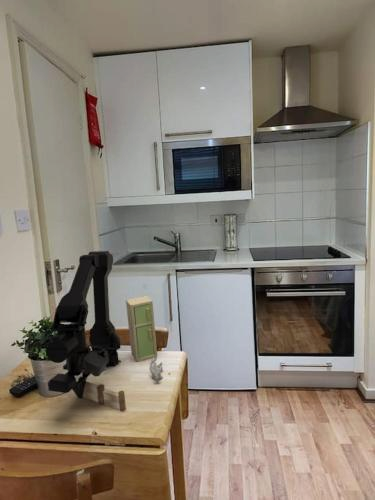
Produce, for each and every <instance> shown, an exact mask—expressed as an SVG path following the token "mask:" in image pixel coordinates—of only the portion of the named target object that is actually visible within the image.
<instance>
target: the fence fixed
mask: <svg viewBox="0 0 375 500" xmlns="http://www.w3.org/2000/svg"><path fill="white" fill-rule="evenodd" d="M98 395H99V402H98V404H99V405H101V406H102V405H104V406H106V407H109V408H113V409H115V410H118V411H120V412H125V411H126V410H127V407H126V398H125V397H126V396H125V391H124V390H119V391H118V392H117V391H114V390H110V389H107V388H105V385H104V384H99V386H98Z"/></svg>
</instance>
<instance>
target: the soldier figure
mask: <svg viewBox="0 0 375 500" xmlns="http://www.w3.org/2000/svg"><path fill="white" fill-rule="evenodd" d="M157 360H158V359H157V357H154V358H150V362H149V371H150V373H151V375H152V376H151V378H152V379H153V380H154V381H156V383H158V382H159V381H160V380H162V379H164V376H162V371H163V366H162V365H163V362H162V361H161V362H160V363H159V364H158V365H157V362H156V361H157ZM167 375H169V376H170V375H171V372H168V373H167Z"/></svg>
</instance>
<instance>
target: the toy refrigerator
mask: <svg viewBox="0 0 375 500" xmlns="http://www.w3.org/2000/svg"><path fill="white" fill-rule="evenodd" d="M153 302H154V301H153V300H152V299H151V298H150V297H149V296H148V295H145V296H138V297H134V298H133V297H132V298H128V299H126V300H125V304H126V305H125V306H126V313H127V314H126V316H127V322H128V334H129V343H130V353H131V356H132V358H133V359H134V361H135V362H136V363H138V362H142V361H146V360H149V359H150V360H151V359H154V358H157V357H158V347H157V337H156V327H155V325H156V324H155V318H154V317H155V315H154V303H153Z"/></svg>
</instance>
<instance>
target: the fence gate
mask: <svg viewBox="0 0 375 500" xmlns="http://www.w3.org/2000/svg"><path fill="white" fill-rule="evenodd" d="M99 385H100V384H99ZM99 385H98V384H95V383H92V382H89V381H87V380H86V384H85V388H84V392H83V397H82V398H85V399H87V400H90V401H92V402H96V403H99V395H98V386H99Z"/></svg>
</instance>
